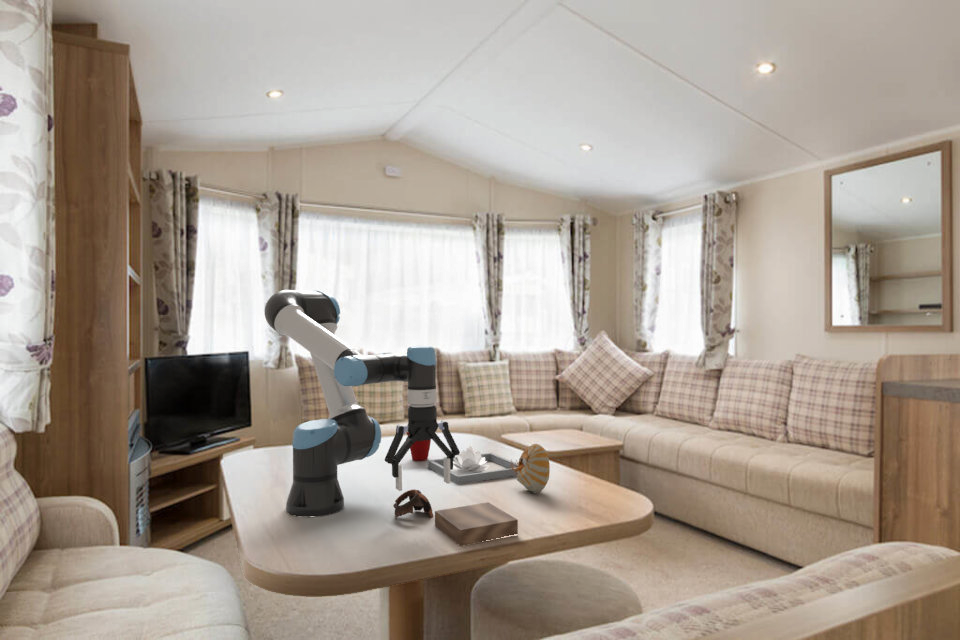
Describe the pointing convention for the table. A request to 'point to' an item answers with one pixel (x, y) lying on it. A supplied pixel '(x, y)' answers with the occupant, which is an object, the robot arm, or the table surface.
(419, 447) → the plastic cup
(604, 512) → the table surface
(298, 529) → the table surface
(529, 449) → the nautilus
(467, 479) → the slate frame
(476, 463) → the lotus flower
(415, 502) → the broken clay pottery vessel
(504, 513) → the brown wooden square block
